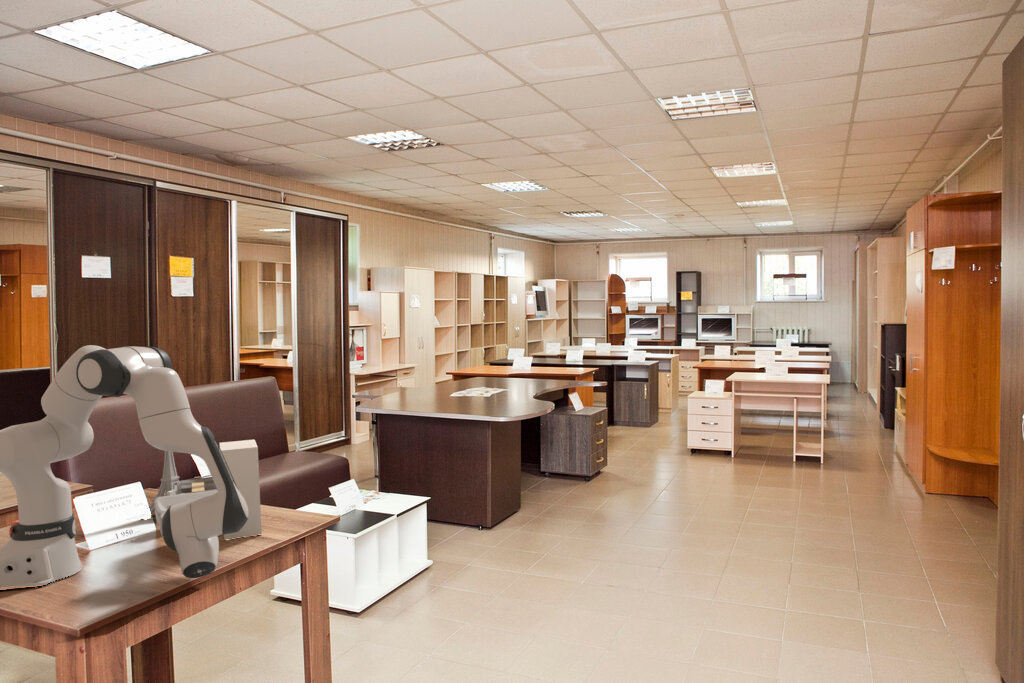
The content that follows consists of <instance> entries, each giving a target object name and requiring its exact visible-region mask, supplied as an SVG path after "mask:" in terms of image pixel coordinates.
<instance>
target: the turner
mask: <svg viewBox="0 0 1024 683" xmlns="http://www.w3.org/2000/svg"><path fill="white" fill-rule="evenodd" d="M179 481H180V485H181V493H188V492H192V493H196V492H204V491H205V490H212V489H214V490H216V489H215V488H214V481H213V478H212V476H208V477H201V478H190V479H181V480H179Z"/></svg>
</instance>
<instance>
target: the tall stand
mask: <svg viewBox="0 0 1024 683" xmlns="http://www.w3.org/2000/svg"><path fill="white" fill-rule="evenodd" d="M219 447H220V449H221V451H222V454H223V456H224V458H225V461H226V463H227V465H228V467H229V470H230V472H231V474H232V477H233V479H234V481H235V483H236V485H237V488H238V489H239V490H240V493H241V495H242V496H243V498H244V499H245V501H246V504H247V507H248V520H247V522H246V523H245V525H244V526H243V527H242V528H241V529H240V530H239V531H238V532H235V533H230V534H225V535H223V537H224V538H223V539H224V540H226V539H232V538H237V537H243V536H251V535H258V534H262V512H261V488H260V468H259V467H260V466H259V446H258V445H257V442H256V440H255V439H254V438H253V439H245V440H236V441H235V440H234V441H223V442H219Z"/></svg>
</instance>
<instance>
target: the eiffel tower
mask: <svg viewBox="0 0 1024 683" xmlns="http://www.w3.org/2000/svg"><path fill="white" fill-rule="evenodd" d="M160 481H161V483H160V485H159V489H158V491H157V493H156V495H155V498H151V501H152V502H151V504H150V505H149V506H148V508H150V511H151V514H152V515H153V514H154V513H155V506H154V500H155V499H156V498H158V497H163V496H167V492H168V491H171V490H174V489H175V485H180V481H181V480H180V476H179V475H178V472H177V468H176V463H175V458H174V452H170V451H164V462H163V470H162V478H160Z"/></svg>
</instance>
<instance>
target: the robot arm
mask: <svg viewBox="0 0 1024 683" xmlns="http://www.w3.org/2000/svg"><path fill="white" fill-rule="evenodd" d="M122 395H128V396H129V397H130V398H132V400H133V401H134V403H135V407H136V413H137V418H138V422H139V427H140V430H141V433H142V435H143V438H144V440H145V441H146V443H147V444H149V445H150V446H151V447H153V448H155V449H158V450H160V451H164V452H165V451H170V452H173V453H182V454H188V455H193V456H196V457H199V458H200V459H201V460H203V462H204V463H205V465H206V468H207V469H208V472H209V474H210V475H211V476H210V477H212V478H213V481H214V488H215V489H214V490H212V491H204V492H196V493H187V494H181V485H175V489H174V490H173V491H172V492H171V493H170V496H163V497H158V498H156V499H155V500H154V506H155V511H154V514H155V520H156V524H157V526H158V527H159V531H160V535H161V536H162V538H163V541H164V543H165V545H166V547H168V548H169V549H170V550H172V551H173V552H175V553H176V554H178V558H179V559H178V561H179V567H180V571H181V573H182V575H183V576H184V577H186V578H187V579H200V578H203V577H205V576H208V575H211V574H212V573H213V572H214V571H216V568H217V567H218V562H219V556H220V555H219V554H220V541H219V537H218V536H222V535H223V536H224V535H225V534H230V533H235V532H238V531H239V530H240V529H241V528H242V527H243V526H244V525H245V523H246V522H247V520H248V507H247V504H246V501H245V499H244V498H243V496H242V495H241V493H240V490H239V489H238V488H237V485H236V483H235V481H234V479H233V477H232V474H231V472H230V470H229V467H228V465H227V463H226V461H225V458H224V456H223V454H222V451H221V449H220V444H218V441H217V439H216V437H215V435H214V433H213V432H212V430H210V429H209V427H207V426H203V425H201V424H199V423H198V421H197V420H196V419H195V417H194V416H193V413H192V410H191V406H190V402H189V399H188V395H187V392H186V390H185V387H184V385H183V382H182V380H181V377H180V376H179V374H178V373H177V371H175V370H174V369H173V363H172V360H171V357H170V355H169V354H168V353H167V352H166V351H164V350H163V349H161V348H160V347H159V348H158V347H155V346H148V345H146V346H122V347H115V348H114V347H113V348H104V347H102V346H99V345H94V344H93V345H92V344H89V345H88V344H87V345H83V346H82V347H79V348H78V349H77V350H76V351H75V352H74V353H72V354H71V356H70V357H69V358H68V359H67V360H66V361H65V362H64V363H63V365H62V366H61V367H60V368H59V370H58V371H57V373H56V375H55V376H54V378H53V379H52V381H51V382H50V383H49V385H48V387H47V389H46V390H45V392H44V393H43V395H42V397H41V400H40V405H41V408H42V411H43V412H44V414H45V415H46V416H45V417H44V418H42V419H40V420H37V421H32V422H26V423H20V424H15V425H10V426H8V427H5V428H3V429H0V473H1V474H3V475H4V476H6V478H7V479H8V480H9V482H10V484H12V487H13V489H14V491H15V495H16V502H17V511H18V519H16V520H14V521H13V522H12V523H11V526H10V527H9V530H8V532H9V533H8V535H9V537H10V539H9V540H8V541H6V542H5V543H4V544H3V545H1V546H0V588H1V587H9V586H36V585H45V584H47V583H50V582H52V581H54V582H56V581H55V580H57V579H60V580H62V579H61V578H63V579H66V578H69V577H71V576H73V575H75V574H77V573H79V572H80V571H81V570H83V566H84V565H83V564H82V562H81V559H80V555H79V553H78V549H77V545H76V538H75V536H76V530H77V528H76V518H75V514H74V513H73V505H72V491H71V490H72V489H71V486H70V484H69V483H68V482H67V481H65V480H64V479H61V478H59V477H56V476H55V474H54V473H53V471H52V468H51V464H52V463H57V462H60V461H64V460H68V459H72V458H74V457H76V456H78V455H80V454H83V453H84V452H87V451H88V450H89V449H90V448H91V447H92V445H93V442H94V440H95V436H94V435H95V433H94V430H93V427H92V425H91V424H90V422H89V419H90V416H91V414H92V412H93V411H94V409H95V408H96V406H97V405H98V403H99V401H100V400H101V399H102V397H104V396H105V397H115V398H119V397H121V396H122ZM178 494H179V495H178ZM68 576H69V577H68ZM65 577H66V578H65ZM57 581H58V580H57ZM52 583H53V582H52ZM50 584H51V583H50Z"/></svg>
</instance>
